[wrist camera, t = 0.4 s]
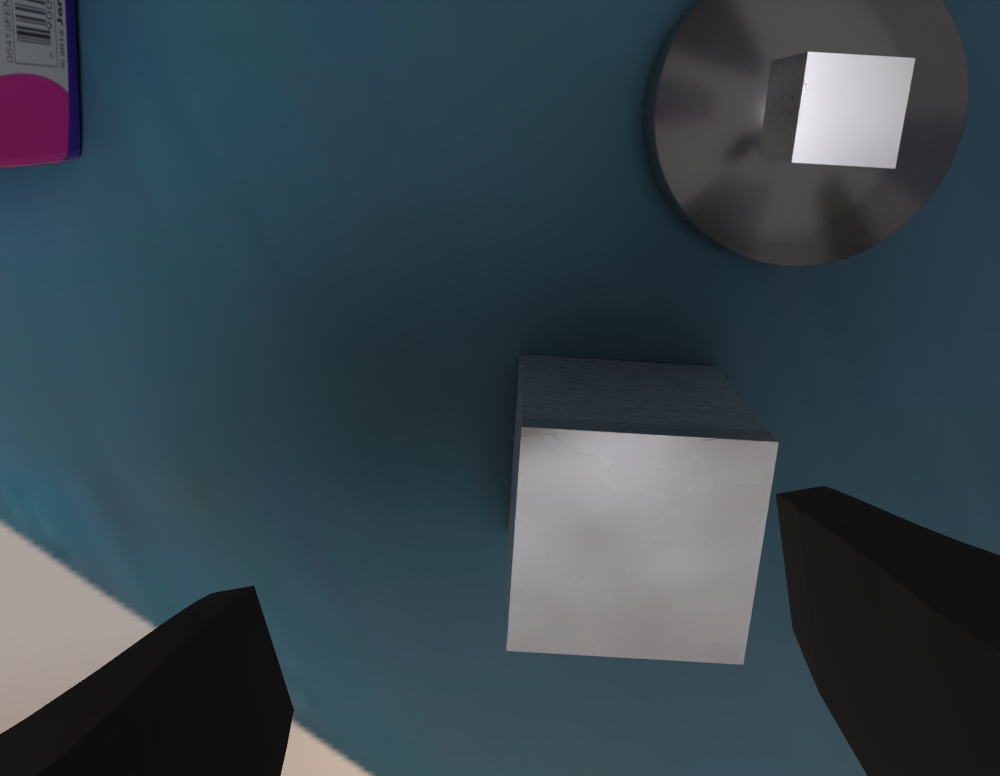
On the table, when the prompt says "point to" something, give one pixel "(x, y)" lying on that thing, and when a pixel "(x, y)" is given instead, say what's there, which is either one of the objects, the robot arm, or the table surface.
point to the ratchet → (804, 121)
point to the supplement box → (38, 83)
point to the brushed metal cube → (634, 511)
